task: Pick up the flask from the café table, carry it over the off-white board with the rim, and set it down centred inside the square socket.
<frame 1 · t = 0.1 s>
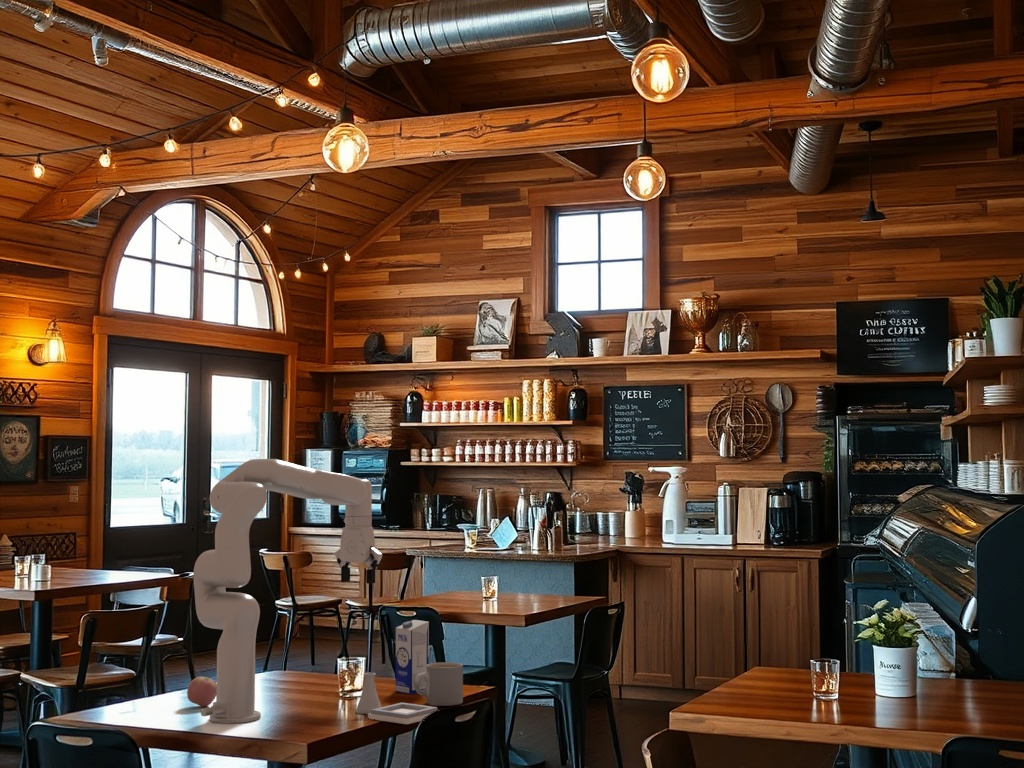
hand: (358, 582, 343), 31 cm above the table, tool pointing down, fingers open, 9 cm apart
milk carton: (412, 692, 343), on the table
apple: (201, 708, 320), on the table
flask: (369, 713, 312), on the table
socket board: (404, 717, 305), on the table
coffee mug: (438, 703, 325), on the table
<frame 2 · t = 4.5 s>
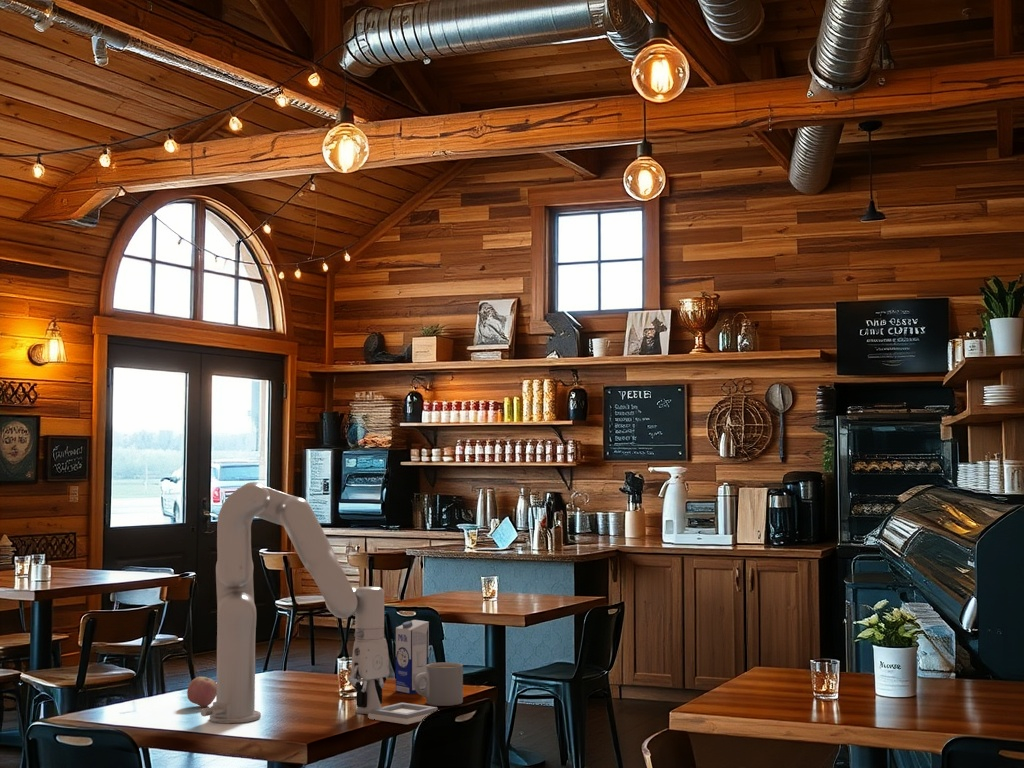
hand: (369, 704, 312), 2 cm above the table, tool pointing down, fingers closed on flask, 5 cm apart
flask: (369, 713, 312), on the table, touching gripper
everything else where it was.
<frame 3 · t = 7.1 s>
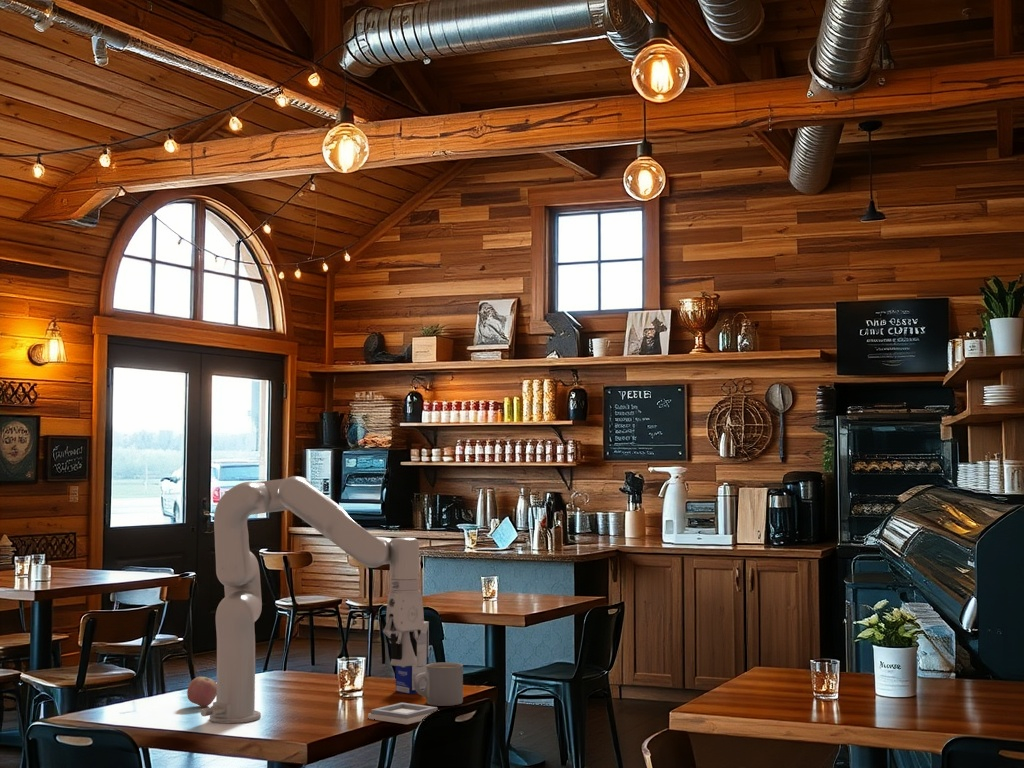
hand: (404, 657, 306), 15 cm above the table, tool pointing down, fingers closed on flask, 5 cm apart
flask: (404, 665, 306), point 13 cm above the table, touching gripper
everything else where it was.
when the fingers open (3 cm above the table, at t = 10.0 s): flask stays where it is, resting on socket board.
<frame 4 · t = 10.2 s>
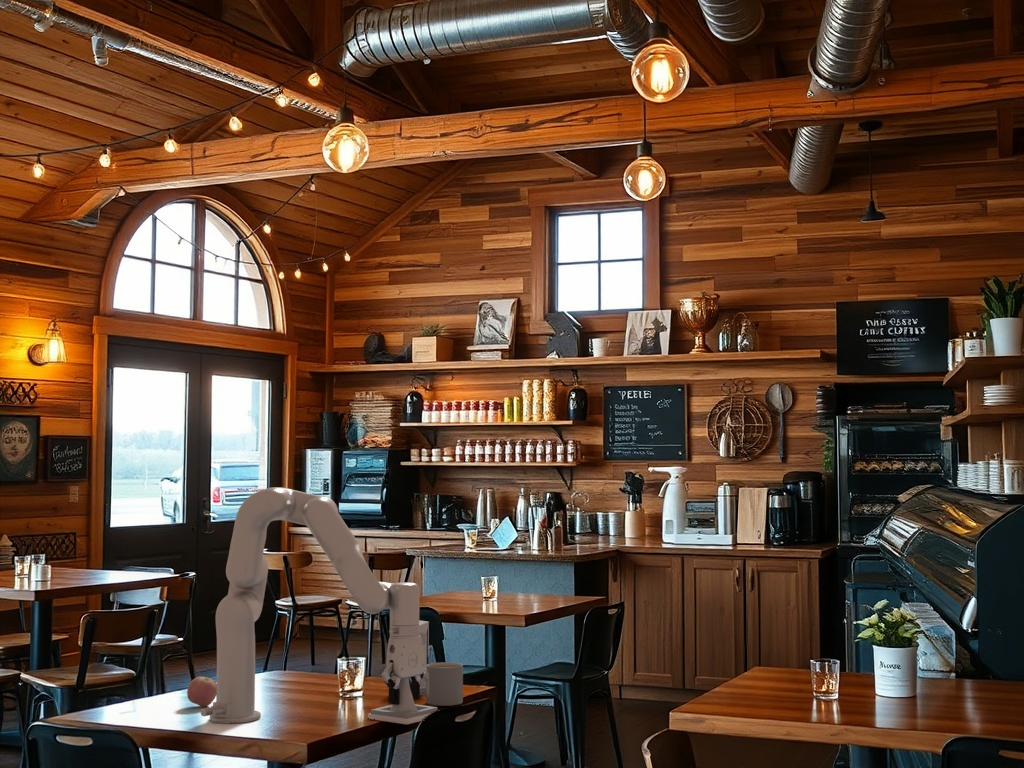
hand: (404, 701, 305), 4 cm above the table, tool pointing down, fingers open, 7 cm apart
flask: (403, 713, 305), point 1 cm above the table, touching socket board
everything else where it was.
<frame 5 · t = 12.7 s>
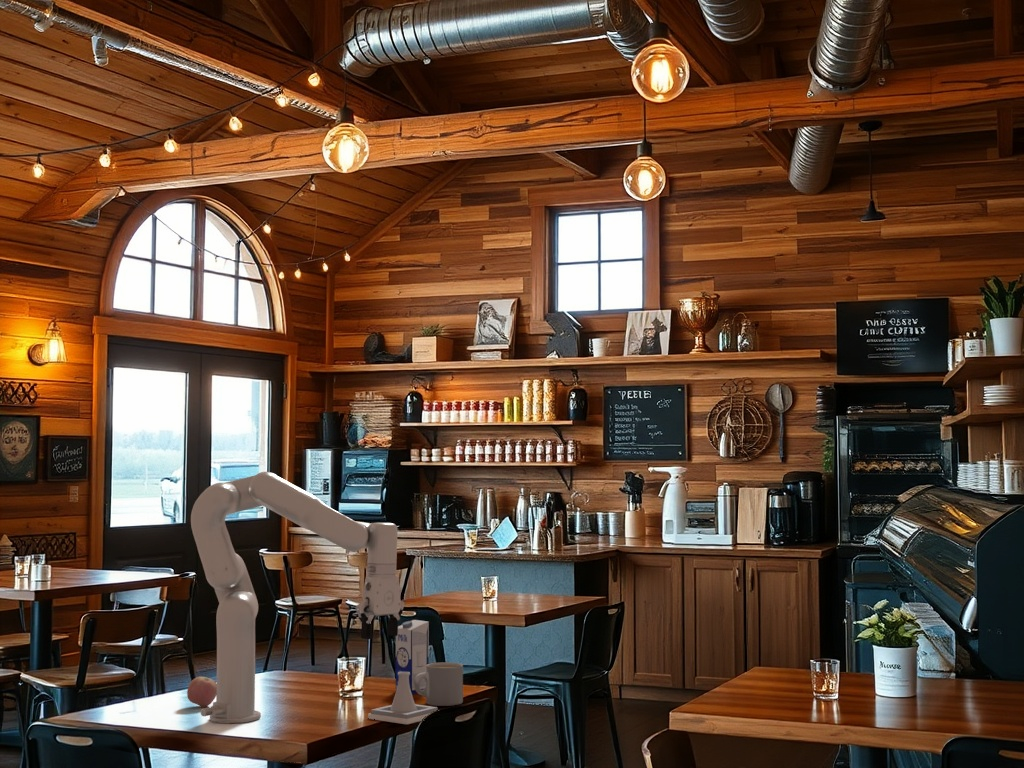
hand: (379, 637, 310), 20 cm above the table, tool pointing down, fingers open, 9 cm apart
nothing on the table moved.
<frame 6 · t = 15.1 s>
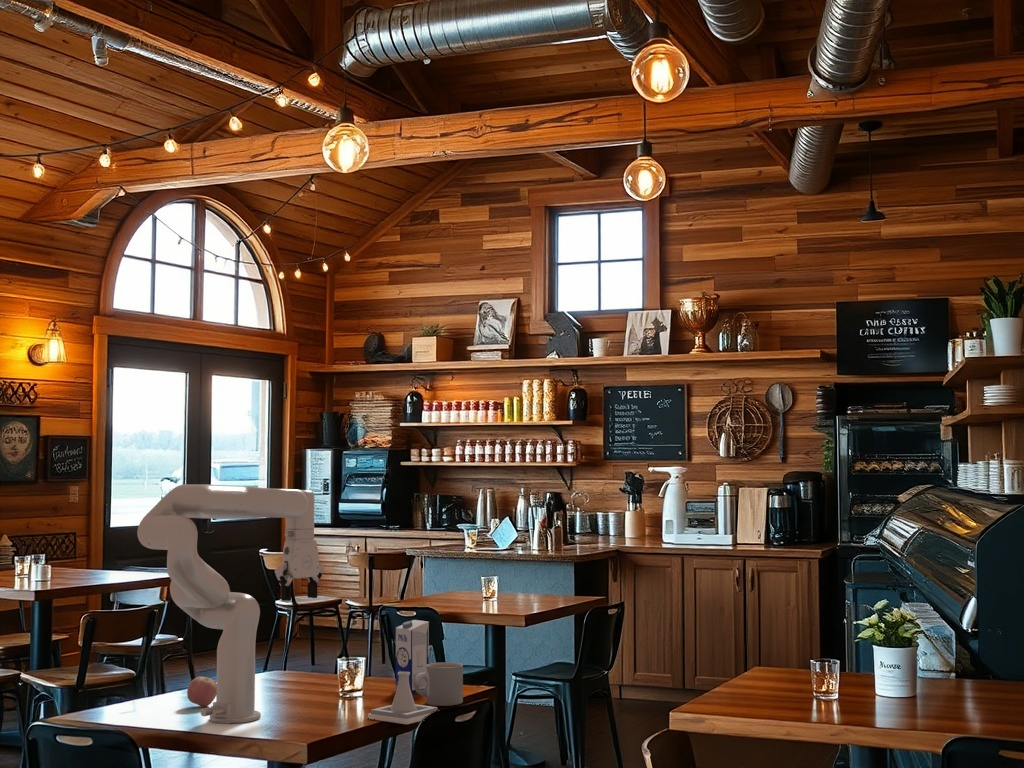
hand: (299, 599, 324), 28 cm above the table, tool pointing down, fingers open, 9 cm apart
nothing on the table moved.
at the end: flask 0.2 cm off-centre on the socket board, point 1.0 cm above the socket board's base; flask tilted 0°; the gripper is holding nothing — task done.
